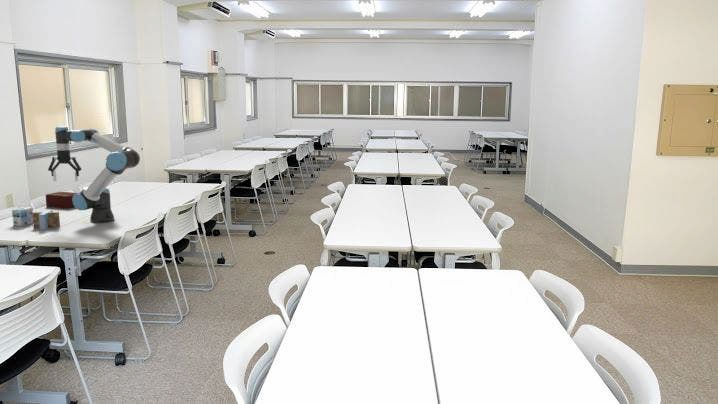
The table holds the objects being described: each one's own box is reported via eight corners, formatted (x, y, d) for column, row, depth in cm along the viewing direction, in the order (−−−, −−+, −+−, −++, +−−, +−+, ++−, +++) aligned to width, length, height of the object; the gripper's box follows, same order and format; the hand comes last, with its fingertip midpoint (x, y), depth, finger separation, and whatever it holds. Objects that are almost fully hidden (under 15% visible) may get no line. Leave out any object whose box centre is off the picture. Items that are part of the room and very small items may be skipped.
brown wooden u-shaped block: (60, 226, 349) (58, 211, 347) (58, 227, 346) (57, 212, 345) (35, 226, 347) (34, 212, 345) (33, 227, 344) (32, 213, 342)
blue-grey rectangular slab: (48, 224, 353) (47, 210, 351) (53, 224, 354) (52, 210, 352) (40, 229, 340) (38, 214, 338) (45, 229, 340) (43, 214, 338)
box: (84, 205, 418) (83, 192, 416) (68, 209, 402) (67, 196, 400) (62, 203, 423) (61, 191, 421) (46, 207, 407) (45, 194, 405)
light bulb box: (21, 226, 347) (20, 210, 345) (12, 225, 348) (11, 209, 346) (34, 222, 357) (33, 207, 355) (26, 222, 359) (24, 206, 357)
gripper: (85, 149, 357) (87, 180, 361) (45, 148, 353) (48, 180, 357) (81, 150, 350) (83, 181, 354) (40, 150, 346) (43, 181, 350)
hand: (65, 181), depth 356 cm, fingers open, 13 cm apart
